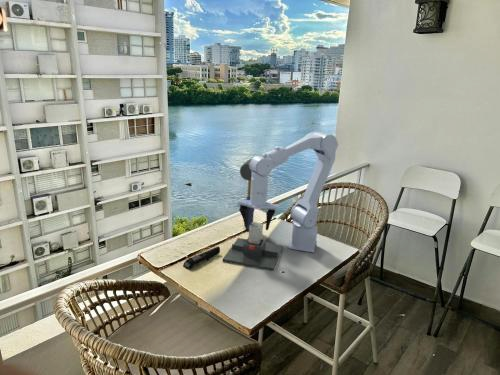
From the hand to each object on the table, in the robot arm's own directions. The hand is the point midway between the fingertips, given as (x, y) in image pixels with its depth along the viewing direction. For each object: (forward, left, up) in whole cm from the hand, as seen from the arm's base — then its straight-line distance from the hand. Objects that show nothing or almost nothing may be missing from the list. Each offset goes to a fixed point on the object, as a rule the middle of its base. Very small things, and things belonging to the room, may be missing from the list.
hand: (256, 227), depth 128 cm
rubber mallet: (+8, -20, -11) cm, 24 cm away
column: (0, +1, -7) cm, 7 cm away
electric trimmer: (+16, +11, -11) cm, 22 cm away
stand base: (0, +1, -10) cm, 10 cm away
